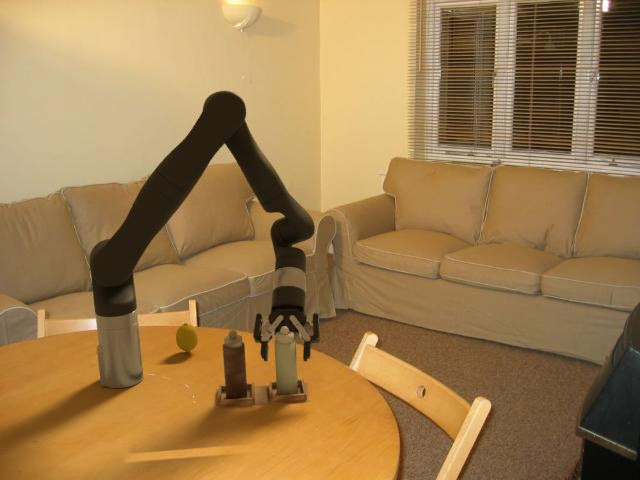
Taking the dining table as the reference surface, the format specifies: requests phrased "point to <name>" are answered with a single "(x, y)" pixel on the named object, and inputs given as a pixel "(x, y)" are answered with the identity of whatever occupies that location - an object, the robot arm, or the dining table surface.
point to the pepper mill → (234, 366)
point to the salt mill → (286, 362)
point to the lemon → (187, 337)
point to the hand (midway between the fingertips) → (285, 360)
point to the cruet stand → (261, 395)
